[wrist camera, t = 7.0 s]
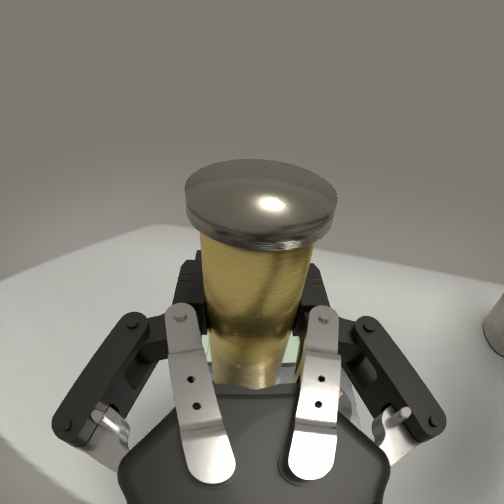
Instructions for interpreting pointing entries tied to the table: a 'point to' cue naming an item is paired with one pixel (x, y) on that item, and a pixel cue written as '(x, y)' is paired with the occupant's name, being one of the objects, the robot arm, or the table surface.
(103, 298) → the table surface
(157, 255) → the table surface
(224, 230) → the pin
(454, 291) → the table surface
